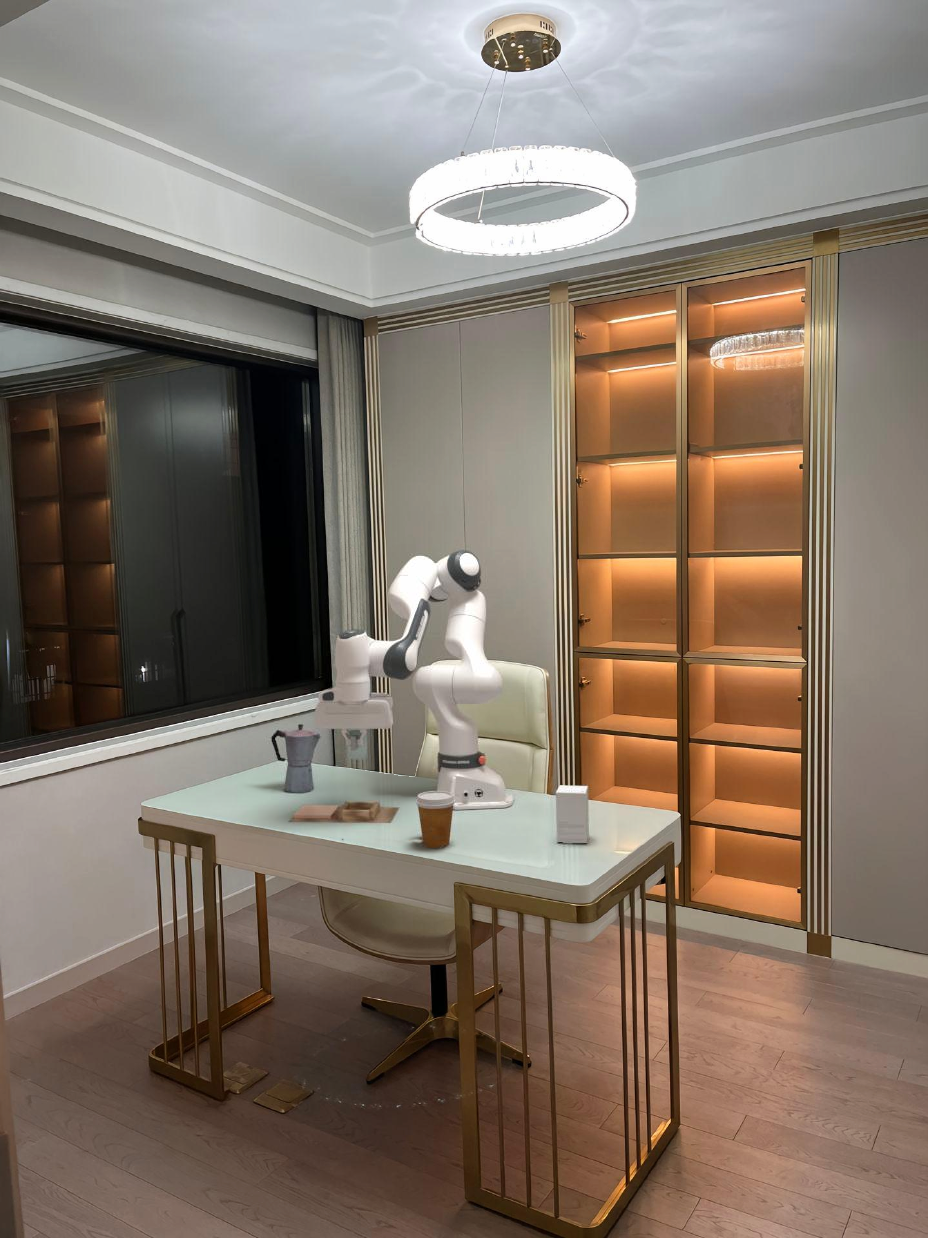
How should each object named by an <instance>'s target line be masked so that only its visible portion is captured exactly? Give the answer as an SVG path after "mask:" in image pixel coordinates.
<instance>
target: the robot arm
mask: <svg viewBox="0 0 928 1238" xmlns="http://www.w3.org/2000/svg"><path fill="white" fill-rule="evenodd" d="M481 568H482V567H481V564H480V560H479V559H478V557H477V556H476V555H475V554H474V552H471V551H470V550H467V549H461V550H456V551H454V552H452V553H450V554H449V555H447V556H445V557H443V558H441V559H440V560H438V561H437V562H436V563H435V561H433V560H432V559H430V558H429V557H428V556H424V555H417V556H414V557H412V558H410V559H409V560H408V561H407V562H406V563H405V565H404V566H403V567H402V568H401V569H400V571H399V572H398V574H397V575H396V577H395V578H394V580H393V582H392V583H391V585H390V587H389V588H388V593H387V602H388V604H389V606H390V609H391V610H392V611H393V612H394V613H395V614H396V615H398V617H400V618H402V619H404V620H407V623H406V626H405V628H404V631H403V635H402V637H401V638H399V639H396V640H376V639H374V638H371V637H370V636H368V635H367V632H366V631H365V630H364V629H359V628H358V629H348V630H344V631H342V632H341V633H339V634H338V635H337V637H336V642H335V651H334V652H335V654H334V655H335V656H334V659H335V660H334V661H335V662H334V664H335V668H336V678H335V686H334V687H333V686H332V687H330V688H327V689H324V690H322V691H320V692H319V693H318V697H317V698H318V701H319V702H318V703H317V704H316V706H315V710H314V726H315V728H316V729H319V730H333V729H334V730H341V734H342V736H343V737H344V739H345V744H346V747H348V746H351V741H350V737H349V735H348V734H347V732H348V729H360V733H362V735H361V737H360V738H357V739H356V742H357V743H356V746H362V745H363V738H364V736H365V734H366V733H368V730H370V729H372V730H373V729H374V730H376V729H377V730H388V729H390V728H391V727H392V726H393V725H394V718H393V717H394V716H393V707H394V699H393V696H392V695H391V694H388V692H371V679H370V678H371V677H377V678H390V679H395V680H401V681H403V680H407V679H408V678H410V676H412V675H413V674H414V676H413V679H412V688H413V689H412V690H413V692H414V694H415V696H416V697H417V698H418V700H420V701H421V702H422V703H424V705H426V707H428V709H429V710H430V711H431V713H432V715H433V717H434V720H435V723H436V725H437V726H436V727H437V735H438V752H437V755H436V756H437V757H436V763H437V764H436V765H437V767H436V769H437V772H438V779H437V786H436V791H445V792H450V793H452V794H453V796H454V799H455V802H454V805H453V811H454V810H455V811H457V810H459V811H460V810H481V809H482V810H483V809H484V810H485V809H502V808H503V809H504V808H510V806H512V805H513V804H514V801H515V800H514V795H513V794H512V793H510V792H507V789H506V783H505V782H504V779H503V777H502V776H501V775H500V774H498V773H497V772H495V771H494V770H493V769H492V768H490V767H489V766H487V765H486V761H487V758H486V754H485V752H481V751H479V732H478V731H479V730H478V729H479V728H478V726H477V723H476V722H475V721H474V719H472V718H471V717H469V716H467V715H466V714H464V713H463V712H461V710H460V709H459V706H458V704H459V705H460V704H462V705H465V704H466V705H482V704H483V705H484V704H488V703H495V702H496V701H497V700H498V699H499V698H500V696H501V695H502V691H503V688H504V687H503V686H504V681H503V677H502V674H501V673H500V672H499V670H498V669H497V668H496V667H495V666H493V665H492V664H491V663H490V662H489V660H488V659H487V657H486V654H485V650H484V643H485V641H484V640H485V639H484V638H485V629H486V623H487V602H486V597H485V595H484V594H483V593H482V591H480V590H478V589H479V587H480V586H481V584H482V580H481V575H482V571H481V570H482V569H481ZM447 600H448V602H449V614H448V618H447V624H446V631H445V637H444V645H445V649H446V650H447V651H448V653H450V654H451V655H452V657H453V656H454V657H455V658H457V659H459V660H460V661H461V662H460V664H458V663H457V664H442V663H441V664H439V663H438V664H431V665H426V666H421V667H420V668H418V669H417V667H418V661H419V654H420V650H421V647H422V643H423V641H424V638H425V635H426V632H427V628H428V625H429V622H430V617H431V606H430V603H429V602H432V603H441V602H445V601H447ZM428 601H429V602H428ZM416 669H417V670H416ZM415 671H416V672H415ZM414 672H415V673H414Z"/></svg>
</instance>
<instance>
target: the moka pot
mask: <svg viewBox="0 0 928 1238" xmlns="http://www.w3.org/2000/svg"><path fill="white" fill-rule="evenodd" d="M297 726H298V729H295V730H294V729H293V730H290V731H287V730H279V729H277V730H276V731H275V732H274V733H273V735H272V736H271V737H270V738H271V743H272V746H273V749H274V752H275V756H276V759H277V761H280V762H287V767H286V773H285V778H284V786H283V790H284V791H286V792H289V793H294V794H295V793H298V794H300V793H301V794H302V793H303V794H304V793H309V792H312V791H314V788H315V787H314V778H313V769H312V768H313V767H312V762H313V758H314V754H315V753H314V752H315V748H316V747H317V744H318V742H319V740H320V739H321V738H322V737H323V736H322V735H321V734H320V733H317V732H315V731H313V730H312V731H311V730H308V729H303V728H304V724H301V723H299V724H298V725H297ZM277 737H279V738H283V739H284V741H285V749H286V758H287V759H286V758H285V757H281V754H280V750H279V747H278V742H277V740H276V738H277ZM286 760H287V761H286Z"/></svg>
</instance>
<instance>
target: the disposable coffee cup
mask: <svg viewBox="0 0 928 1238" xmlns="http://www.w3.org/2000/svg"><path fill="white" fill-rule="evenodd" d="M454 802H455V799H454V796H453V794H452V793H450V792H445V791H437V790H430V791H424V792H421V793H418V795H417V799H416V800H415V803H416V806H417V810H418V816H419V822H420V823H419V824H420V829H421V836H422V843H423V844H422V845H423V846H424V847H426V846H427V847H426V848H429V847H430V849H440V848H439V847H442V848H444V847H443V846H446V847H448V846H449V845H450V839H451V831H452V830H451V829H452V821H453V811H454V809H453V805H454ZM447 845H448V846H447Z"/></svg>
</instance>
